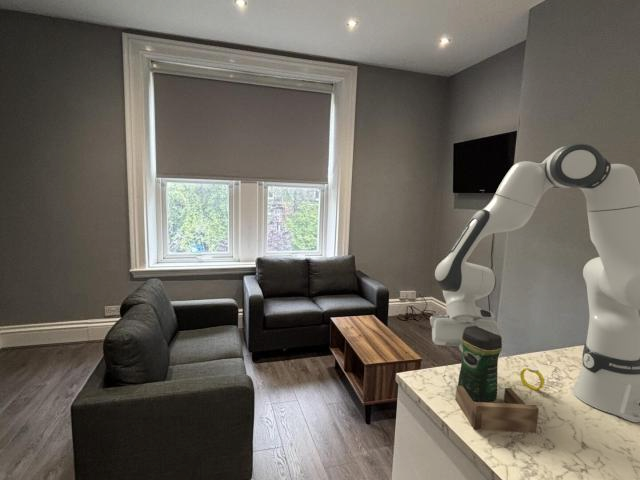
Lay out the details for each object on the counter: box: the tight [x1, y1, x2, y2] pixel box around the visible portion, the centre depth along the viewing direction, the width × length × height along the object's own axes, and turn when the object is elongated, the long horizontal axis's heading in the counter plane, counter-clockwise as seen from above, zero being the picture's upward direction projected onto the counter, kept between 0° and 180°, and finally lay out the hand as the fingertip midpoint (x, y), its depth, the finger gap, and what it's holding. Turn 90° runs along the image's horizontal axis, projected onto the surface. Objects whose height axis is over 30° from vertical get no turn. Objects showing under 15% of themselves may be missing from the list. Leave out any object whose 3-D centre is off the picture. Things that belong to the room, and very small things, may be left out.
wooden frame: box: [455, 385, 540, 434], centre depth 84 cm, size 14×12×6 cm
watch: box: [519, 365, 545, 391], centre depth 98 cm, size 6×3×6 cm, turn 30°
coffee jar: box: [457, 326, 503, 403], centre depth 92 cm, size 10×8×19 cm
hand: (472, 360), depth 97 cm, fingers closed, pressing on coffee jar
